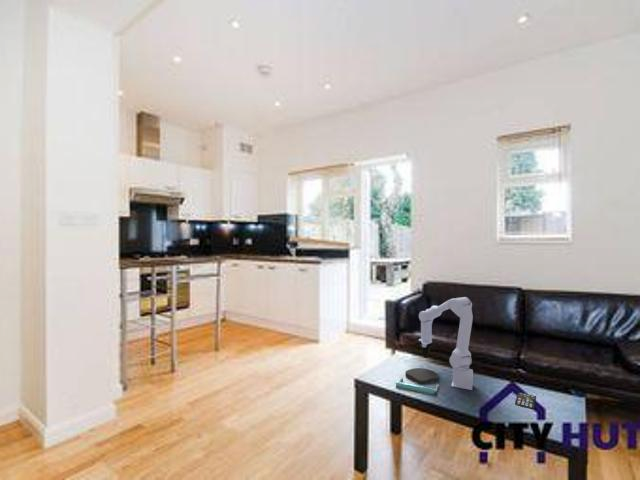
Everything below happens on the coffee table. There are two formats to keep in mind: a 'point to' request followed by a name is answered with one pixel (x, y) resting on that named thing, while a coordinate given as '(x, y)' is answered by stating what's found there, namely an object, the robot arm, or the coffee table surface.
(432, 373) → the media streaming box
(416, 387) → the teal tray
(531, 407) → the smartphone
